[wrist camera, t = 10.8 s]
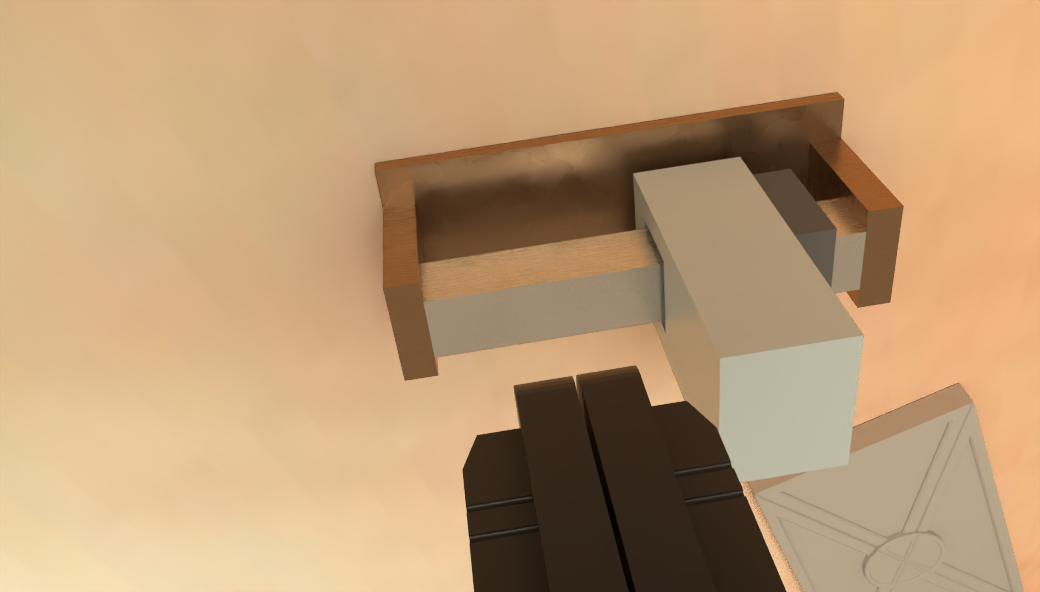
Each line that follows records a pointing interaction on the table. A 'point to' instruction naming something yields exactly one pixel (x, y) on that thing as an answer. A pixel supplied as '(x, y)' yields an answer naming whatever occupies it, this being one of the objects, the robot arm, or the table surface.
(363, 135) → the table surface
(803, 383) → the pale grey rectangular block
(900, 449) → the envelope
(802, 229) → the gray brick
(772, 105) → the rail
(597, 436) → the robot arm
